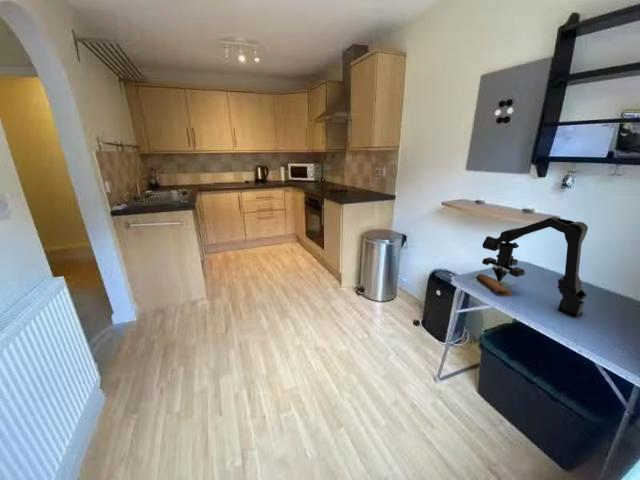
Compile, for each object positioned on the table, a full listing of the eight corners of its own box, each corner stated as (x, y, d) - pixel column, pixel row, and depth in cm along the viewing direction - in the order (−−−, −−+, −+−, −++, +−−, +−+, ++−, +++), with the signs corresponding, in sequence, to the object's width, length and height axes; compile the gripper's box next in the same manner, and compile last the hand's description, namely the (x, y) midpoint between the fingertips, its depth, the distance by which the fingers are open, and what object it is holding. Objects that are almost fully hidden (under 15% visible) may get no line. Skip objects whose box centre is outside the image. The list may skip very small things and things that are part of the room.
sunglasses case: (514, 294, 133) (509, 284, 131) (501, 301, 134) (496, 291, 132) (490, 278, 150) (486, 268, 148) (478, 284, 151) (474, 275, 149)
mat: (515, 284, 145) (515, 283, 144) (489, 292, 137) (489, 292, 137) (492, 275, 156) (492, 274, 156) (467, 282, 149) (467, 281, 149)
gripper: (535, 257, 132) (528, 285, 137) (498, 245, 148) (493, 271, 153) (520, 261, 128) (513, 290, 133) (483, 249, 144) (479, 275, 149)
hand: (499, 281), depth 142 cm, fingers closed
